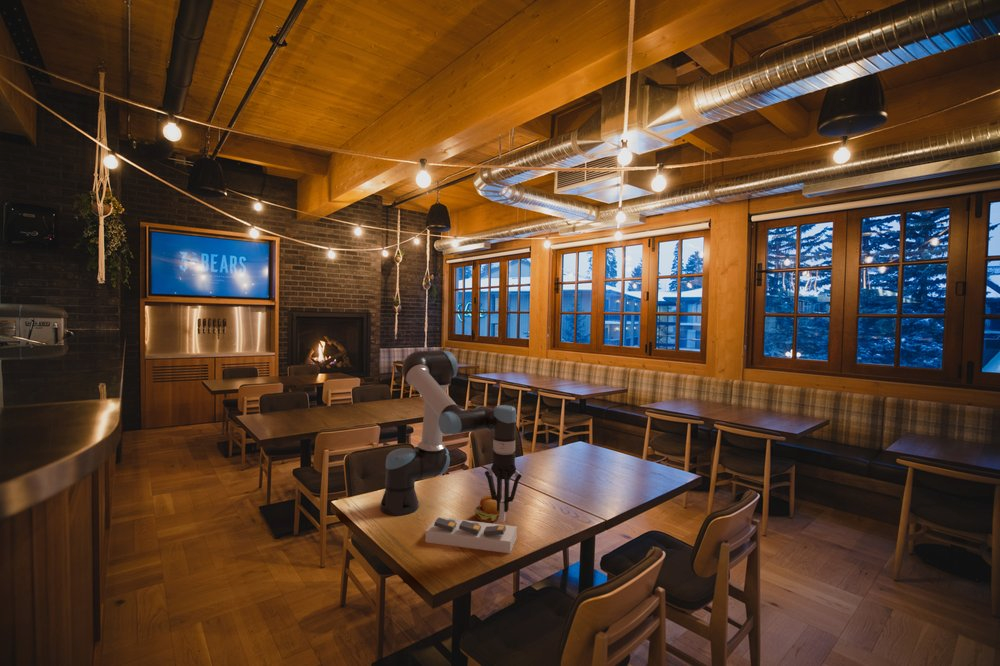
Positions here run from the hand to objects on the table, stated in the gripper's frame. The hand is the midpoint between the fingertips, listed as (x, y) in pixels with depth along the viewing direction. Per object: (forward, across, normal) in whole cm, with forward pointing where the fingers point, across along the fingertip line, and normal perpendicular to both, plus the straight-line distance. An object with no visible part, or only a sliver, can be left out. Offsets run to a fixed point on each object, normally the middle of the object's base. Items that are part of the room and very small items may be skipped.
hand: (502, 520), depth 161 cm
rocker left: (+5, -20, 0) cm, 21 cm away
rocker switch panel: (+10, -11, +3) cm, 15 cm away
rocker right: (+5, -2, 0) cm, 5 cm away
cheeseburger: (+10, -10, +22) cm, 26 cm away
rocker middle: (+5, -11, 0) cm, 12 cm away
